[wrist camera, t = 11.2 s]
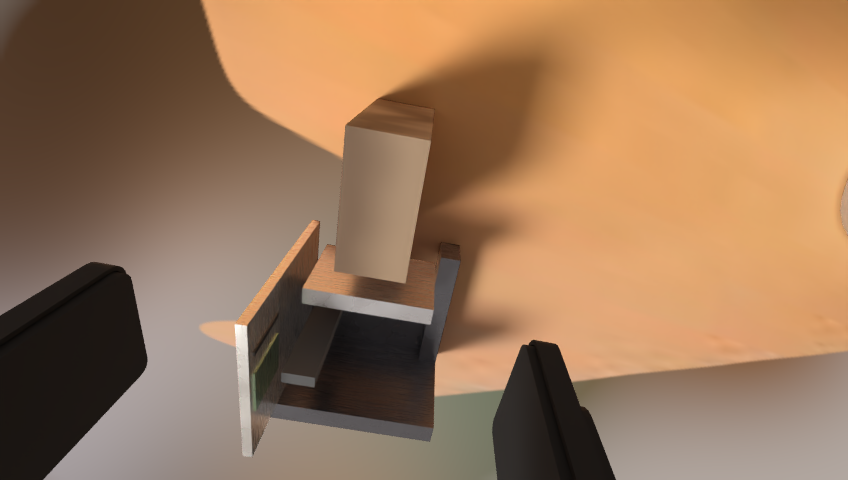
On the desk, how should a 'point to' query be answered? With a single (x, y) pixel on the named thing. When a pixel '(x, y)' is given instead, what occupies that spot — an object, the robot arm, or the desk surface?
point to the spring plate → (372, 291)
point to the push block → (382, 189)
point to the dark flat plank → (311, 347)
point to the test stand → (339, 357)
